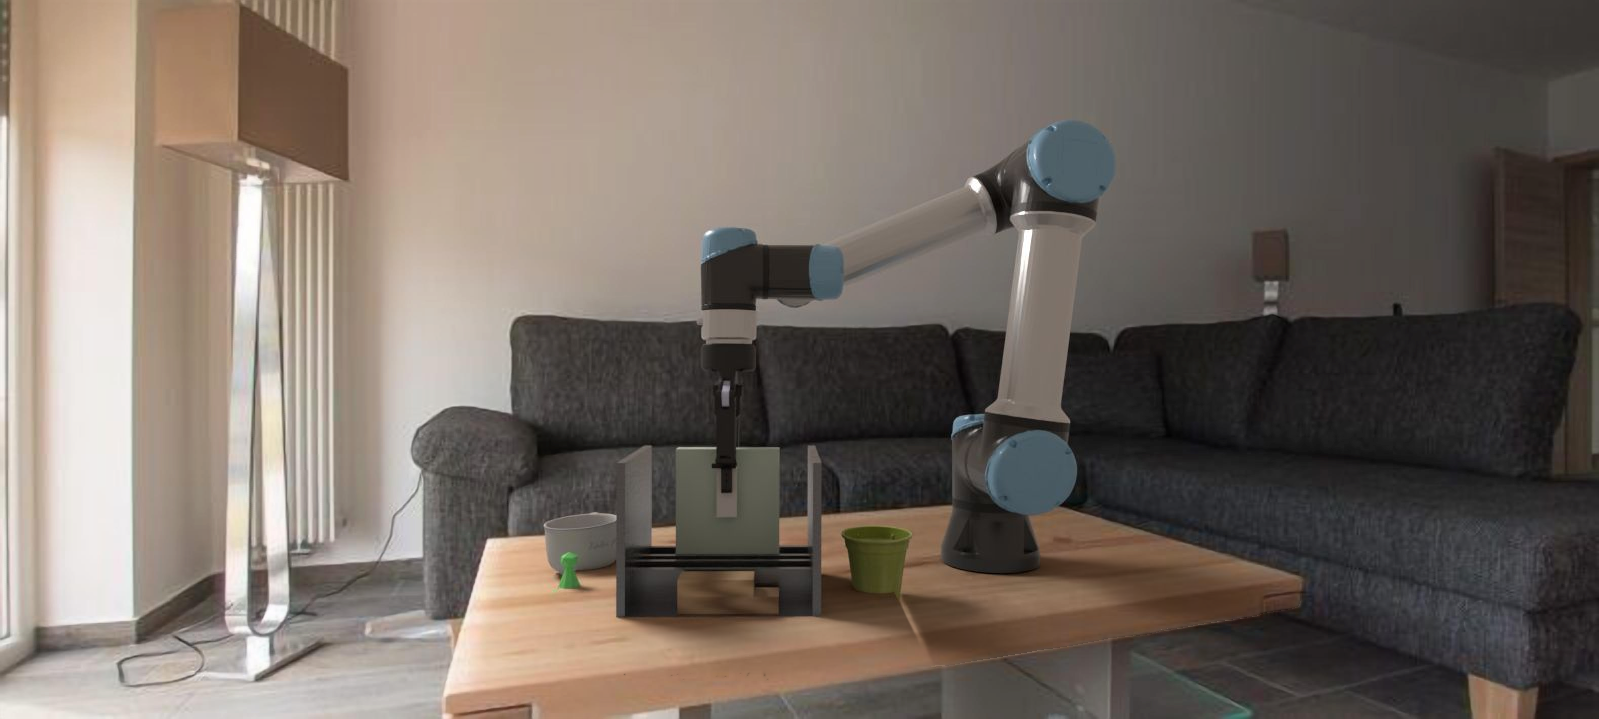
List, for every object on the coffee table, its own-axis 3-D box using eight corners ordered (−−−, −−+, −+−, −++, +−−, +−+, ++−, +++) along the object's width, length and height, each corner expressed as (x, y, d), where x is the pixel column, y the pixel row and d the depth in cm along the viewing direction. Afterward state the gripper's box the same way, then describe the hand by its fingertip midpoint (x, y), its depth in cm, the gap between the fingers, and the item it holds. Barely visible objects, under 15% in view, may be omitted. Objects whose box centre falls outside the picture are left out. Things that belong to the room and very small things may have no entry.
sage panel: (779, 577, 113) (779, 447, 113) (779, 582, 110) (779, 449, 110) (677, 577, 113) (678, 447, 113) (675, 582, 110) (676, 449, 110)
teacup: (599, 584, 115) (599, 527, 115) (529, 580, 117) (529, 524, 117) (638, 560, 128) (638, 509, 128) (575, 557, 130) (575, 507, 130)
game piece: (547, 595, 109) (547, 550, 109) (579, 590, 112) (579, 546, 112) (558, 603, 106) (558, 557, 106) (590, 598, 108) (590, 552, 108)
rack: (814, 583, 115) (814, 445, 115) (821, 628, 96) (821, 462, 96) (644, 583, 115) (644, 445, 115) (616, 629, 95) (616, 463, 95)
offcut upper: (754, 587, 101) (754, 571, 101) (753, 596, 97) (753, 580, 97) (681, 587, 100) (681, 571, 100) (677, 597, 96) (677, 580, 96)
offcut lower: (778, 603, 101) (778, 587, 101) (778, 613, 97) (778, 596, 97) (681, 603, 100) (681, 587, 100) (677, 614, 96) (677, 597, 96)
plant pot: (903, 611, 102) (903, 542, 102) (832, 603, 106) (832, 537, 106) (919, 592, 111) (919, 528, 111) (852, 585, 114) (852, 523, 114)
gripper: (706, 343, 120) (706, 502, 120) (694, 340, 103) (693, 526, 103) (757, 343, 120) (757, 502, 120) (753, 341, 103) (753, 525, 103)
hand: (728, 512), depth 112 cm, fingers open, 4 cm apart
